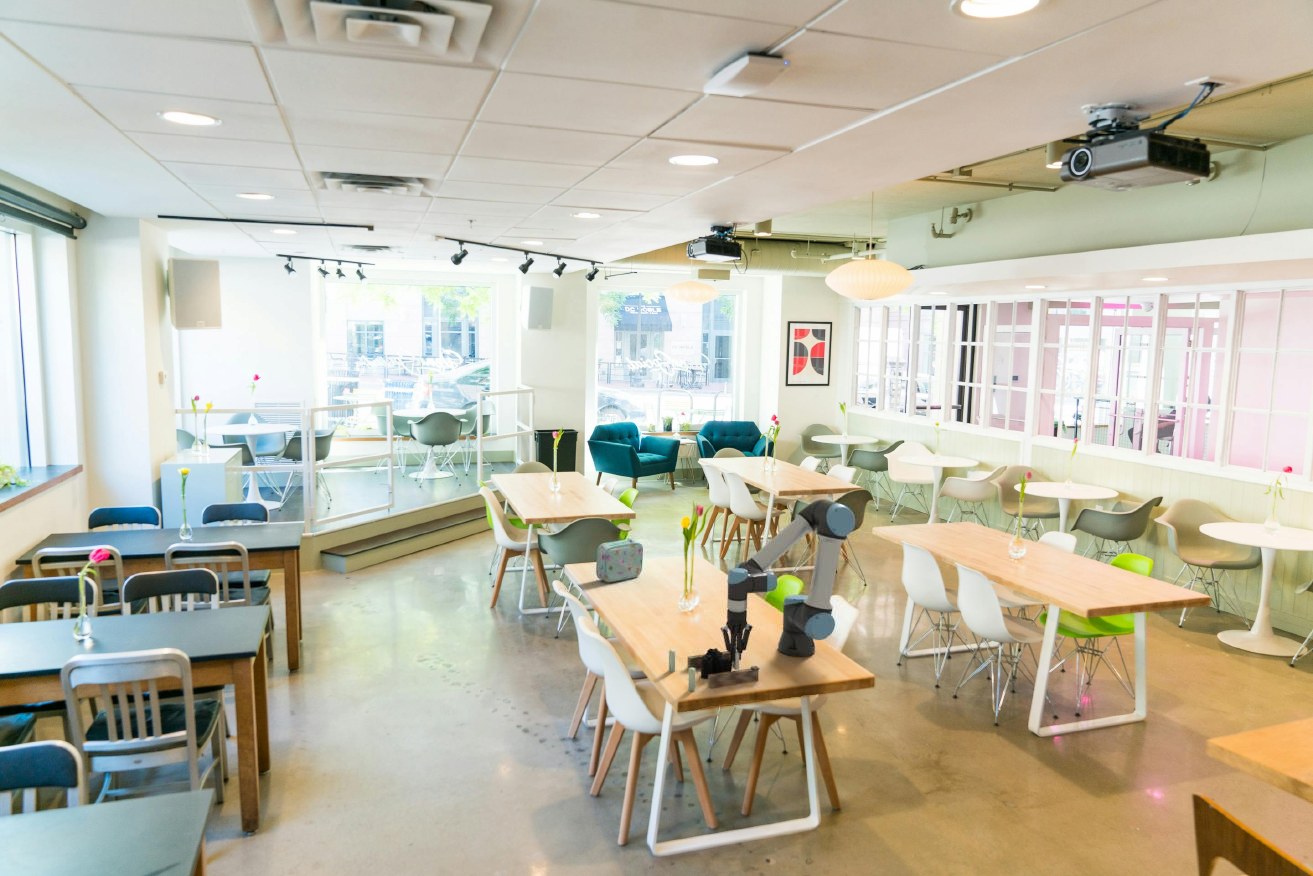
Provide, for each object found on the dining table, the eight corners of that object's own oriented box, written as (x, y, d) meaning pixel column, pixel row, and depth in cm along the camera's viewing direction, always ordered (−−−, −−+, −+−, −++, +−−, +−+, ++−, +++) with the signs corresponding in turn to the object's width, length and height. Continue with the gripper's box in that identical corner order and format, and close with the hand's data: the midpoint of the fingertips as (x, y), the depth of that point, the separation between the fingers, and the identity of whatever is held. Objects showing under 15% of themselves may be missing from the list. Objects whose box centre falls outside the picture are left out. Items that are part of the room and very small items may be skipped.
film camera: (721, 683, 309) (722, 660, 308) (698, 678, 313) (698, 655, 312) (735, 669, 322) (736, 647, 321) (712, 664, 326) (713, 642, 325)
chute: (733, 660, 331) (733, 648, 330) (759, 680, 311) (759, 668, 310) (687, 667, 323) (687, 654, 323) (710, 688, 303) (710, 675, 303)
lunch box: (633, 572, 457) (633, 534, 455) (645, 576, 449) (645, 538, 447) (594, 581, 440) (594, 541, 438) (605, 585, 432) (605, 545, 430)
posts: (673, 669, 321) (673, 649, 320) (696, 690, 301) (696, 669, 300) (667, 670, 320) (668, 650, 319) (690, 691, 300) (690, 670, 300)
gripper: (747, 604, 322) (746, 662, 325) (717, 608, 317) (716, 667, 320) (756, 610, 315) (755, 669, 318) (726, 613, 310) (724, 674, 313)
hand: (735, 668), depth 319 cm, fingers closed
